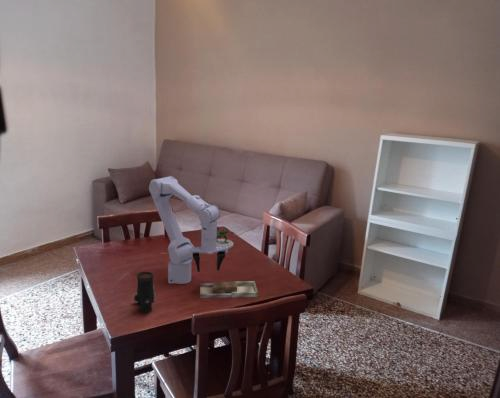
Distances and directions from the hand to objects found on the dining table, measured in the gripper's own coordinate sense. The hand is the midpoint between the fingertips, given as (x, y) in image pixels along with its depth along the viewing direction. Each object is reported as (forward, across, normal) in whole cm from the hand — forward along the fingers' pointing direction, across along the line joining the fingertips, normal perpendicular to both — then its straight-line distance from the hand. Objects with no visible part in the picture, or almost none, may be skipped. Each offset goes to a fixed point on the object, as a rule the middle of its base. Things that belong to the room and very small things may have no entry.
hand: (208, 270), depth 150 cm
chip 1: (+9, +4, -2) cm, 10 cm away
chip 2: (+9, +9, -2) cm, 12 cm away
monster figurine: (+10, +14, +46) cm, 50 cm away
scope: (+10, -24, -8) cm, 27 cm away
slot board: (+9, +8, -2) cm, 13 cm away
